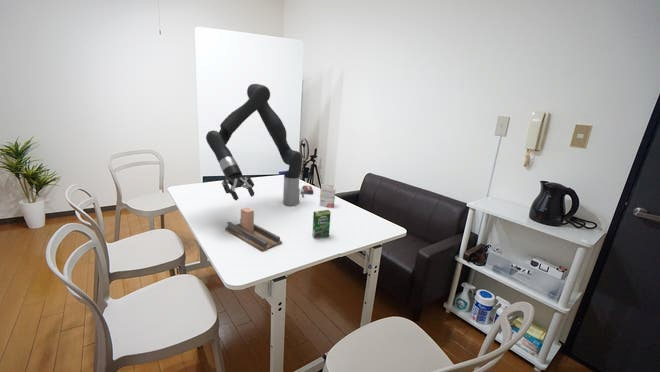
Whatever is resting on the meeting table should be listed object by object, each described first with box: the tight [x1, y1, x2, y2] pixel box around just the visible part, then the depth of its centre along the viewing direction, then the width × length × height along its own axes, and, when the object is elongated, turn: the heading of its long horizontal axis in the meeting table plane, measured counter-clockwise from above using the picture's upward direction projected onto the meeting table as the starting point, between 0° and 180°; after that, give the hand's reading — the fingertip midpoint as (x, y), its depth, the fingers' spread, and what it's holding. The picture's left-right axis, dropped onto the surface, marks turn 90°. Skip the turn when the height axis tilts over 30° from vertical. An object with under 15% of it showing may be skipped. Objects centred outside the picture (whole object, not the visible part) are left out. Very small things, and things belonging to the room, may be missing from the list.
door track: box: [224, 218, 283, 252], centre depth 134 cm, size 11×28×4 cm, turn 51°
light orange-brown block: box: [240, 207, 255, 233], centre depth 135 cm, size 4×5×11 cm
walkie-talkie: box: [300, 185, 314, 197], centre depth 203 cm, size 9×4×20 cm
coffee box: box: [312, 209, 331, 239], centre depth 139 cm, size 8×3×13 cm, turn 114°
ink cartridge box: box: [319, 183, 336, 209], centre depth 180 cm, size 9×5×15 cm, turn 76°
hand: (245, 197), depth 134 cm, fingers open, 8 cm apart
